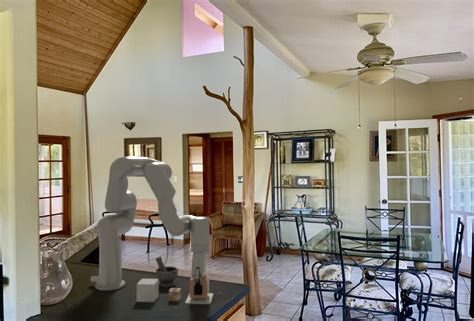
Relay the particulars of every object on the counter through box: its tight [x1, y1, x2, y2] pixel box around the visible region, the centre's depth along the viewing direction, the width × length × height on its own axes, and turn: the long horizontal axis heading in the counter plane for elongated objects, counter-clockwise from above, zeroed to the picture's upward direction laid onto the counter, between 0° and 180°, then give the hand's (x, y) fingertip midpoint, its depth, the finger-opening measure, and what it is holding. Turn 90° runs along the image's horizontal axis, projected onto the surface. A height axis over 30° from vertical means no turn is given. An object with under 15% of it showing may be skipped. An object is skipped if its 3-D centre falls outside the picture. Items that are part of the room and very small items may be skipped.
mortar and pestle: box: [155, 256, 179, 288], centre depth 167 cm, size 11×9×12 cm
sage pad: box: [184, 292, 214, 305], centre depth 149 cm, size 10×11×1 cm
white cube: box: [136, 278, 160, 303], centre depth 149 cm, size 7×7×7 cm
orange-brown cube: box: [189, 274, 210, 298], centre depth 149 cm, size 7×7×7 cm
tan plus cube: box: [168, 287, 182, 302], centre depth 149 cm, size 4×4×4 cm
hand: (199, 290), depth 149 cm, fingers closed on orange-brown cube, 7 cm apart
